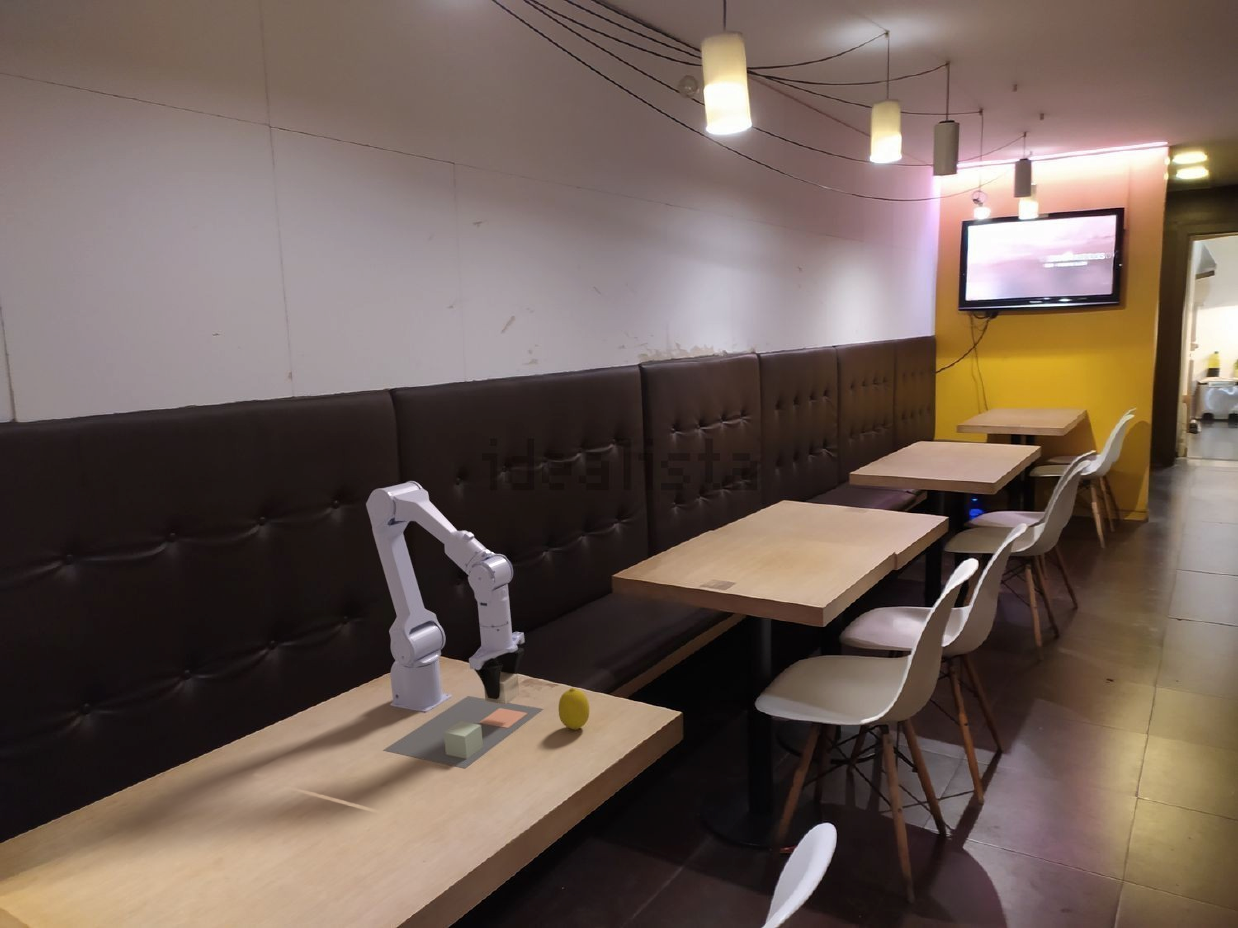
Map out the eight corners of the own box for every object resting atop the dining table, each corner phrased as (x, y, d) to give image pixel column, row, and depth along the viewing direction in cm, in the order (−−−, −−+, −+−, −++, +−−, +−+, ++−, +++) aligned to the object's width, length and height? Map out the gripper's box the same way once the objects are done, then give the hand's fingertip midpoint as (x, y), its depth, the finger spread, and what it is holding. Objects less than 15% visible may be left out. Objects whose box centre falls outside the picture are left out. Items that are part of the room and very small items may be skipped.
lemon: (555, 728, 151) (552, 686, 150) (583, 720, 154) (580, 679, 153) (566, 740, 146) (563, 697, 145) (595, 732, 149) (592, 689, 148)
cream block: (485, 700, 155) (483, 680, 154) (499, 691, 158) (497, 671, 158) (505, 704, 152) (503, 683, 152) (519, 694, 156) (517, 674, 156)
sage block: (446, 754, 143) (443, 732, 143) (462, 742, 147) (460, 721, 147) (467, 758, 141) (464, 736, 141) (483, 746, 145) (481, 725, 145)
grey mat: (383, 752, 146) (383, 749, 146) (468, 697, 167) (467, 695, 167) (465, 770, 138) (465, 767, 138) (543, 710, 159) (543, 708, 159)
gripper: (489, 637, 145) (496, 711, 147) (535, 611, 158) (540, 680, 160) (457, 633, 149) (464, 705, 150) (504, 608, 161) (510, 675, 163)
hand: (501, 692), depth 155 cm, fingers closed on cream block, 4 cm apart
